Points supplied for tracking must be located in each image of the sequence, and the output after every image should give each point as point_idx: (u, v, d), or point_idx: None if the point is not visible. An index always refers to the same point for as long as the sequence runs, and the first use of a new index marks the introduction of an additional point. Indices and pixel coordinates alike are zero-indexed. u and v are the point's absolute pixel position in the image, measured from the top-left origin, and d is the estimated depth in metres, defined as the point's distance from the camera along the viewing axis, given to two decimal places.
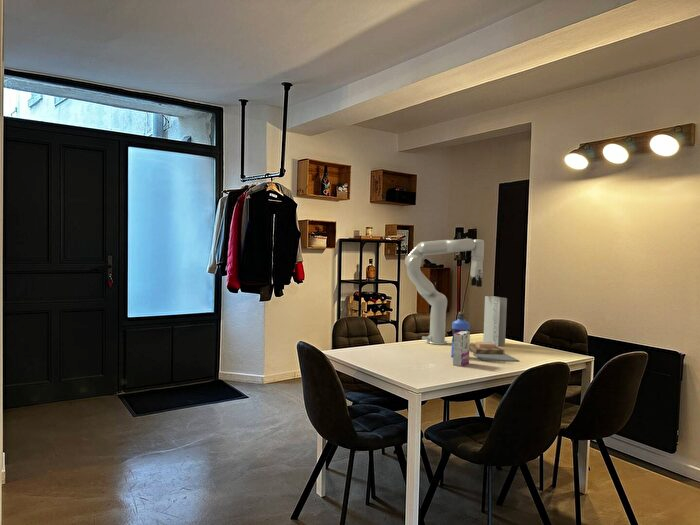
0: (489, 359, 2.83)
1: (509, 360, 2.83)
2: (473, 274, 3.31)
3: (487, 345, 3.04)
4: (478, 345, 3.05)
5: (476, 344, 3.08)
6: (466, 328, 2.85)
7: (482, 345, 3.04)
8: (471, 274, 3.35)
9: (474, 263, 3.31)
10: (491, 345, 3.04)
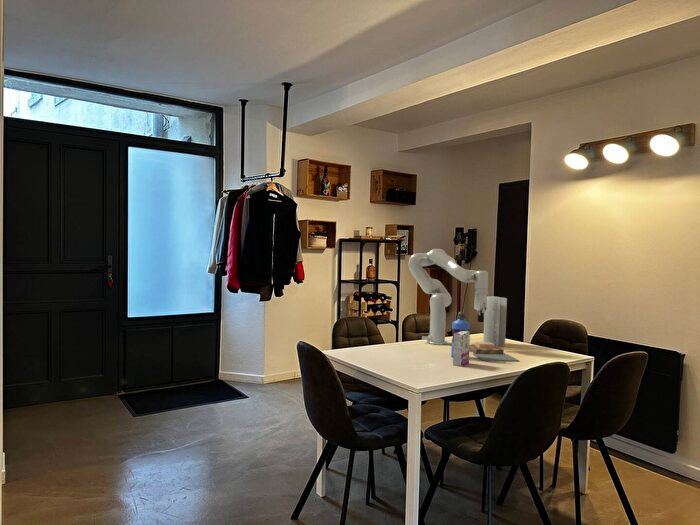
0: (489, 359, 2.83)
1: (509, 360, 2.83)
2: (477, 307, 3.15)
3: (487, 345, 3.04)
4: (478, 345, 3.05)
5: (476, 344, 3.08)
6: (466, 328, 2.85)
7: (482, 345, 3.04)
8: (475, 307, 3.18)
9: (478, 296, 3.14)
10: (491, 345, 3.04)
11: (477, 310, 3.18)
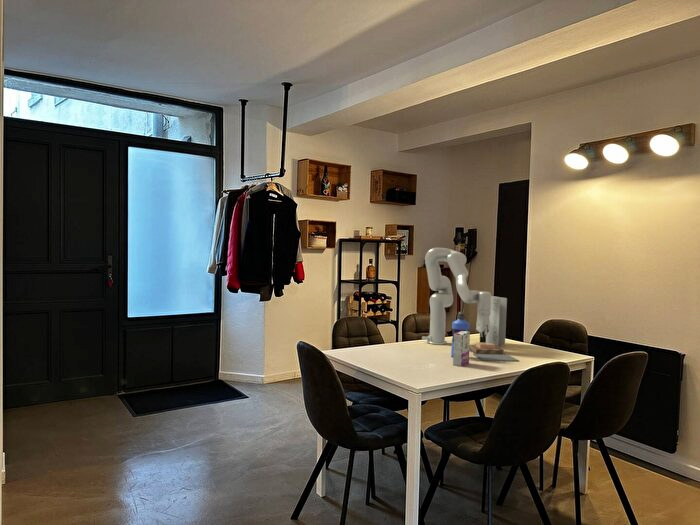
0: (489, 359, 2.83)
1: (509, 360, 2.83)
2: (479, 329, 3.09)
3: (488, 345, 3.03)
4: (479, 345, 3.04)
5: (477, 344, 3.07)
6: (466, 328, 2.85)
7: (483, 346, 3.02)
8: (477, 328, 3.13)
9: (480, 317, 3.08)
10: (492, 345, 3.03)
11: (479, 331, 3.13)
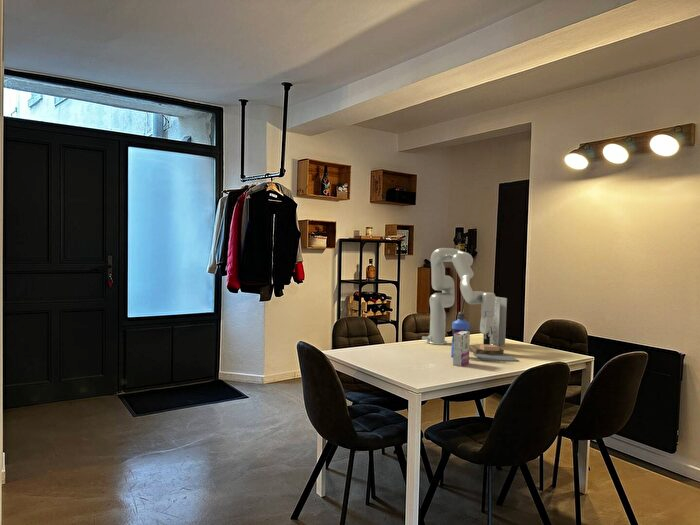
0: (489, 359, 2.83)
1: (509, 360, 2.83)
2: (483, 331, 3.03)
3: (492, 347, 2.96)
4: (482, 347, 2.98)
5: (480, 346, 3.01)
6: (466, 328, 2.85)
7: (487, 348, 2.96)
8: (481, 330, 3.06)
9: (484, 319, 3.02)
10: (496, 347, 2.97)
11: (483, 333, 3.06)
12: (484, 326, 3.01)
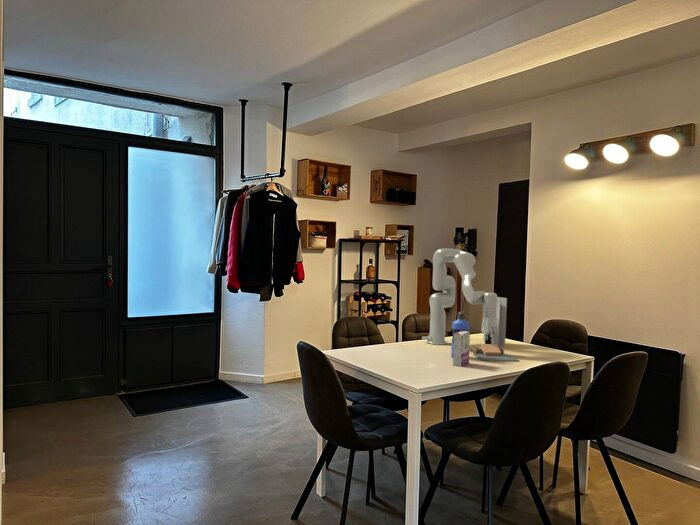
0: (489, 359, 2.83)
1: (509, 360, 2.83)
2: (485, 331, 3.00)
3: (493, 353, 2.94)
4: (484, 351, 2.95)
5: (482, 347, 2.98)
6: (466, 328, 2.85)
7: (488, 353, 2.94)
8: (482, 331, 3.03)
9: (486, 319, 2.99)
10: (497, 353, 2.94)
11: (485, 334, 3.04)
12: (486, 326, 2.99)
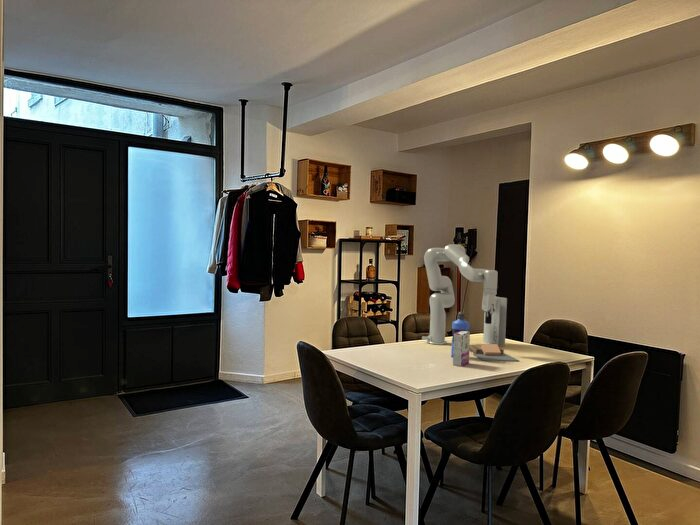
0: (489, 359, 2.83)
1: (509, 360, 2.83)
2: (485, 308, 3.00)
3: (493, 353, 2.94)
4: (484, 351, 2.95)
5: (482, 347, 2.98)
6: (466, 328, 2.85)
7: (488, 353, 2.94)
8: (483, 308, 3.04)
9: (486, 296, 3.00)
10: (497, 353, 2.94)
11: (485, 311, 3.04)
12: (486, 303, 2.99)
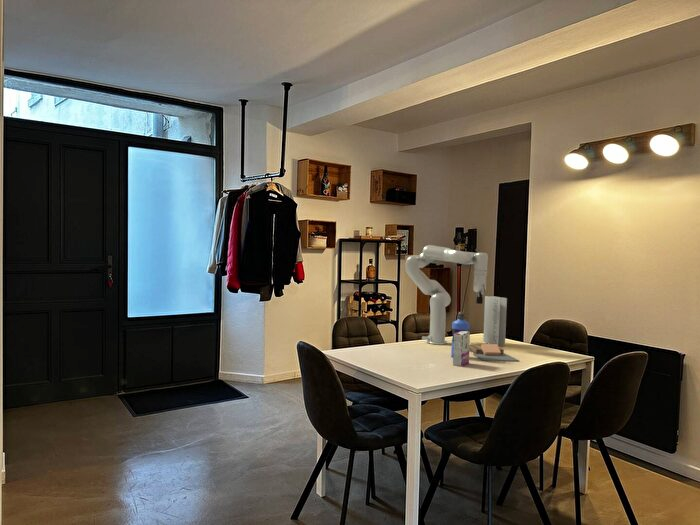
0: (489, 359, 2.83)
1: (509, 360, 2.83)
2: (476, 289, 3.16)
3: (493, 353, 2.94)
4: (484, 351, 2.95)
5: (482, 347, 2.98)
6: (466, 328, 2.85)
7: (488, 353, 2.94)
8: (474, 289, 3.20)
9: (477, 278, 3.16)
10: (497, 353, 2.94)
11: (476, 292, 3.20)
12: (477, 284, 3.15)
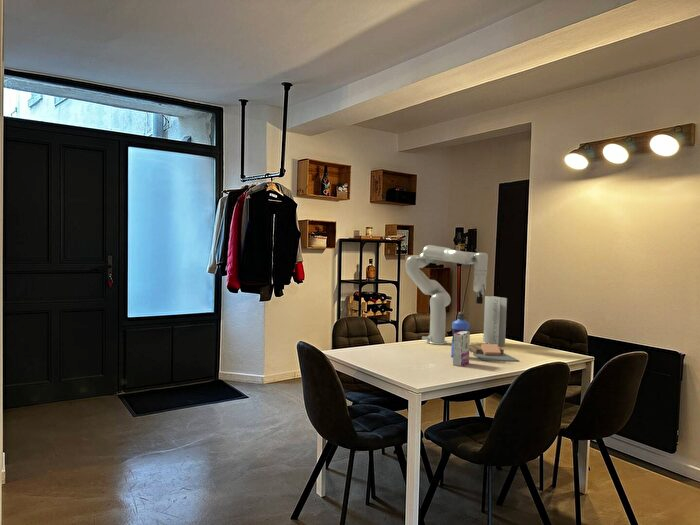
0: (489, 359, 2.83)
1: (509, 360, 2.83)
2: (476, 289, 3.16)
3: (493, 353, 2.94)
4: (484, 351, 2.95)
5: (482, 347, 2.98)
6: (466, 328, 2.85)
7: (488, 353, 2.94)
8: (474, 289, 3.20)
9: (477, 278, 3.16)
10: (497, 353, 2.94)
11: (476, 292, 3.20)
12: (477, 284, 3.15)
